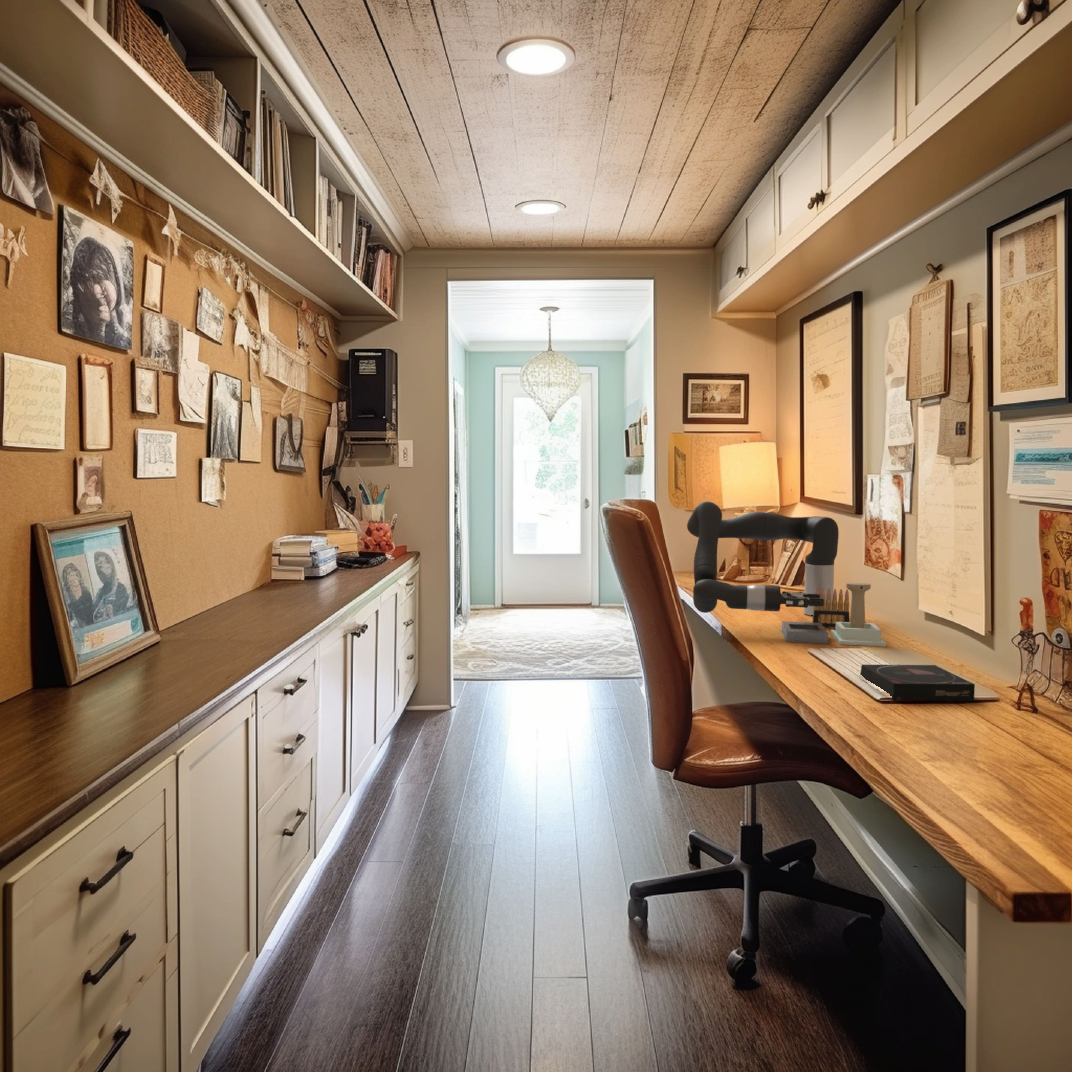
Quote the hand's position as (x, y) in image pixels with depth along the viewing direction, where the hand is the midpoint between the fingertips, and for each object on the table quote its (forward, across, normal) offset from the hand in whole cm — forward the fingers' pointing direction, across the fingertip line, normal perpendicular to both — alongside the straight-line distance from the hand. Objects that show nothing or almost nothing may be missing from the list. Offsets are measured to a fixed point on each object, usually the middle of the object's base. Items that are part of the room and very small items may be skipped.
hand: (821, 600), depth 218 cm
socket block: (-5, 0, +11) cm, 12 cm away
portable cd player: (+12, -53, +12) cm, 56 cm away
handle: (+10, 0, +10) cm, 14 cm away
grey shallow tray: (+10, 0, +11) cm, 15 cm away
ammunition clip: (+6, +19, +11) cm, 23 cm away
